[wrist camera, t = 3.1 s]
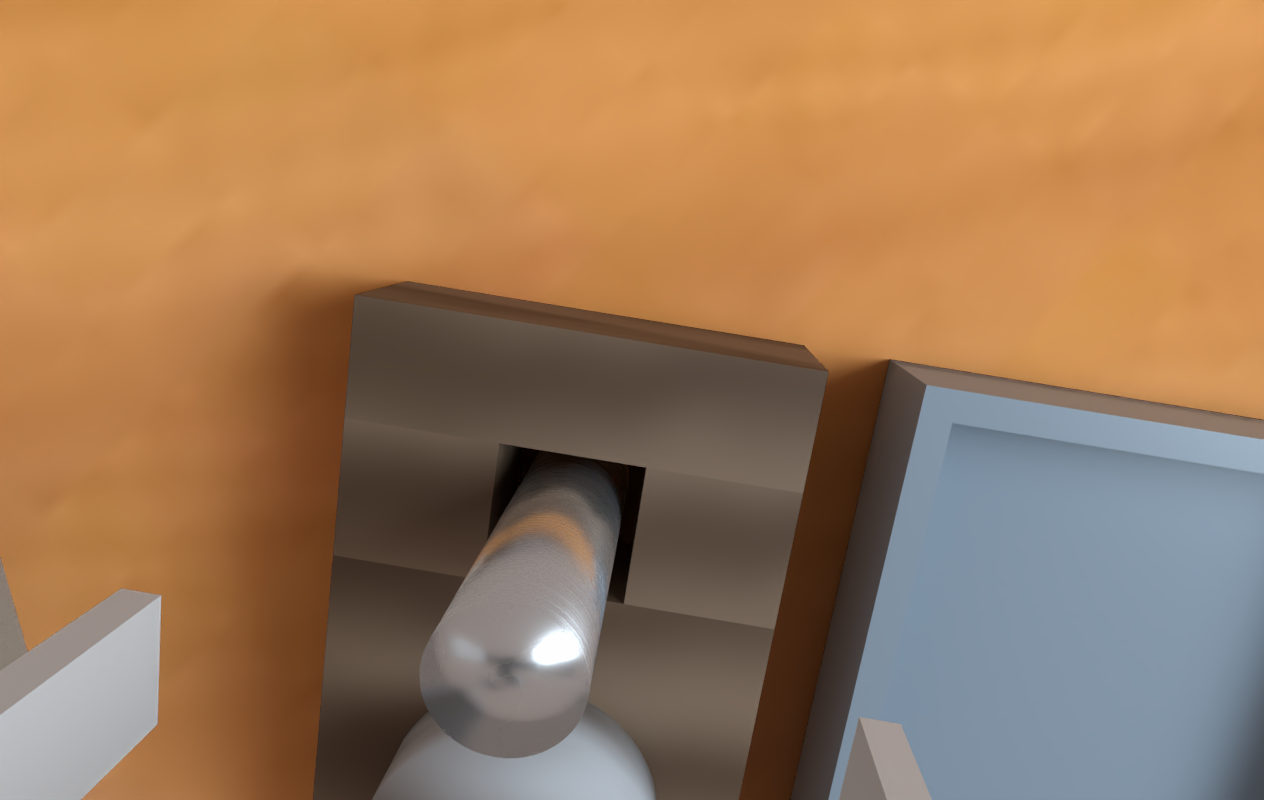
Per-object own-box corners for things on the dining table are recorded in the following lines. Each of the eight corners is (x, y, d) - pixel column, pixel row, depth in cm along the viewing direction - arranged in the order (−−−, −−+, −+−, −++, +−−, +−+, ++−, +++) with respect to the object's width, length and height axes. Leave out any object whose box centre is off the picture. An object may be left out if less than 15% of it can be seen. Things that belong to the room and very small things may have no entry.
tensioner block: (696, 878, 34) (701, 1073, 27) (356, 819, 35) (262, 995, 27) (803, 345, 30) (848, 392, 22) (407, 281, 30) (311, 305, 22)
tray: (1216, 968, 34) (1296, 1081, 30) (769, 891, 34) (783, 990, 30) (1412, 443, 29) (1541, 484, 25) (889, 359, 30) (926, 385, 25)
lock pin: (621, 528, 31) (576, 771, 18) (527, 512, 32) (411, 742, 18) (635, 437, 31) (600, 618, 17) (539, 421, 31) (428, 589, 17)
